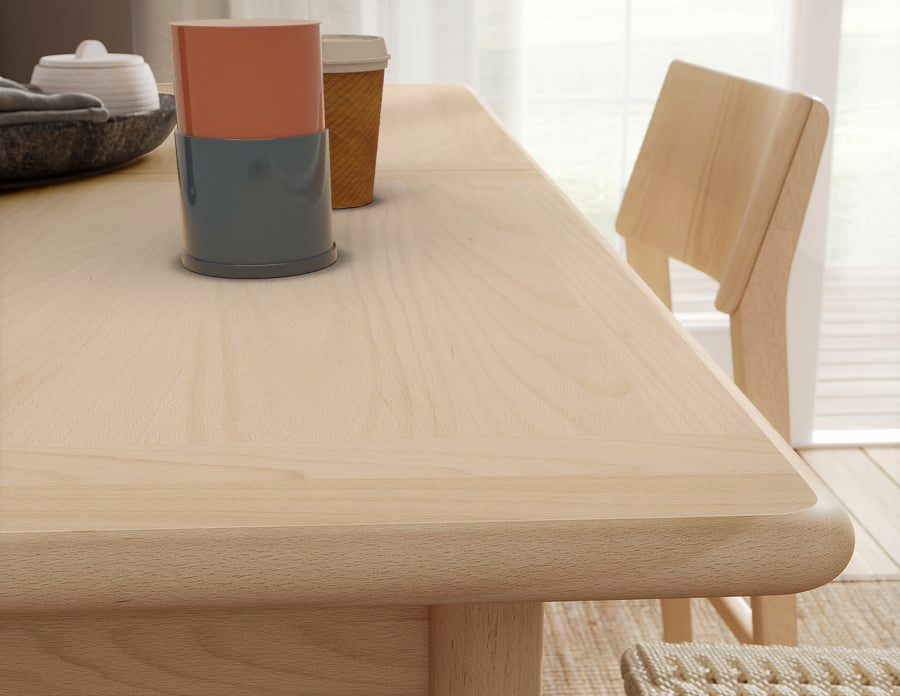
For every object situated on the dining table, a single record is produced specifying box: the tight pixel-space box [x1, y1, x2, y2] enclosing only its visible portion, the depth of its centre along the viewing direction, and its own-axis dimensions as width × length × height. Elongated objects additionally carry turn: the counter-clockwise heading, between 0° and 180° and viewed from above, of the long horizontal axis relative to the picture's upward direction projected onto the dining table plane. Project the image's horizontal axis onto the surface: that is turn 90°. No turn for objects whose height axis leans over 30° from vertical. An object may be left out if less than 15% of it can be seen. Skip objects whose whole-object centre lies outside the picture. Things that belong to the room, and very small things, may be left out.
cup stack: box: [167, 18, 338, 279], centre depth 71 cm, size 10×10×14 cm
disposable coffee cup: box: [322, 33, 392, 209], centre depth 89 cm, size 10×10×12 cm
